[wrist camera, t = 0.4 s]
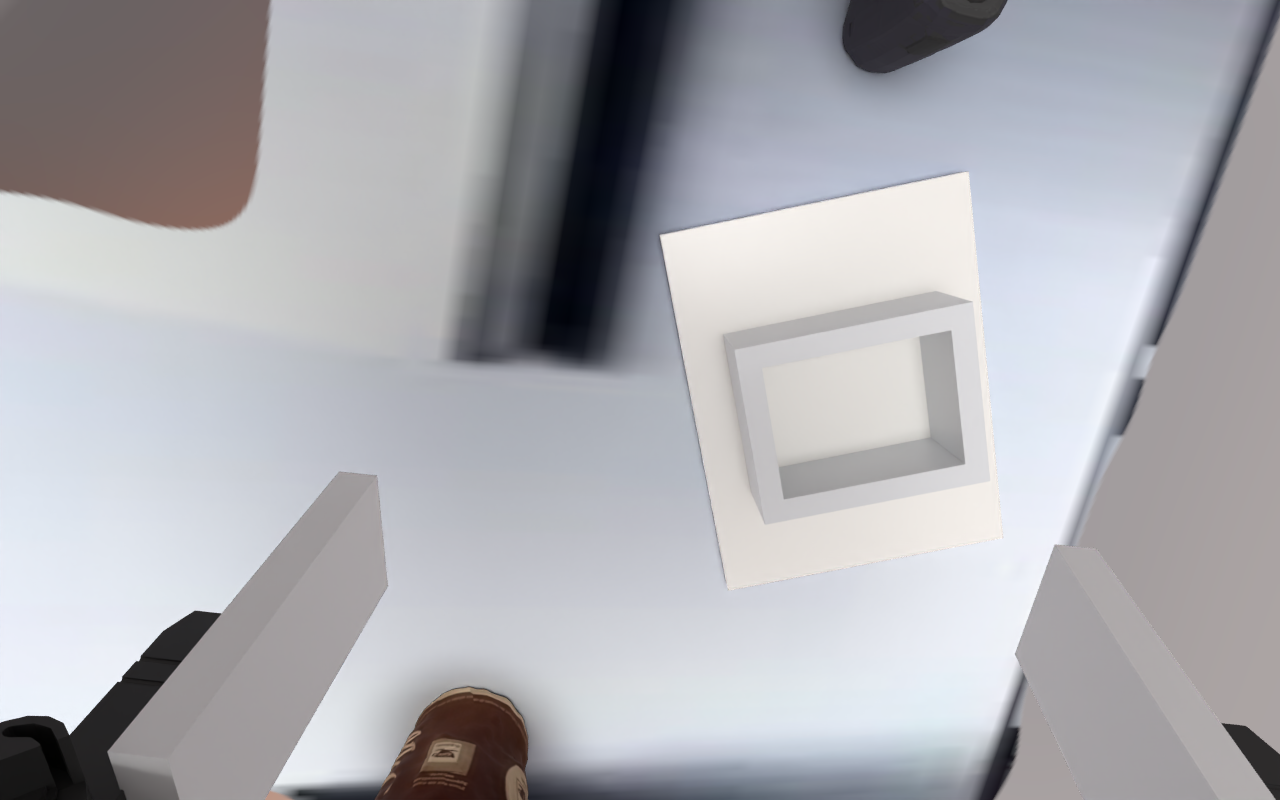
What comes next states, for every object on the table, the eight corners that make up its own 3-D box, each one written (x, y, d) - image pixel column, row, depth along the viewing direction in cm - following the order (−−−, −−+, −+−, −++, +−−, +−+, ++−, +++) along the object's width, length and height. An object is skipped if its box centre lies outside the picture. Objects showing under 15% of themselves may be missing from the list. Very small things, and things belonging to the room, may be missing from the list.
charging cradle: (659, 234, 37) (664, 239, 32) (959, 172, 36) (1011, 167, 31) (725, 581, 41) (739, 632, 36) (994, 529, 40) (1044, 574, 36)
